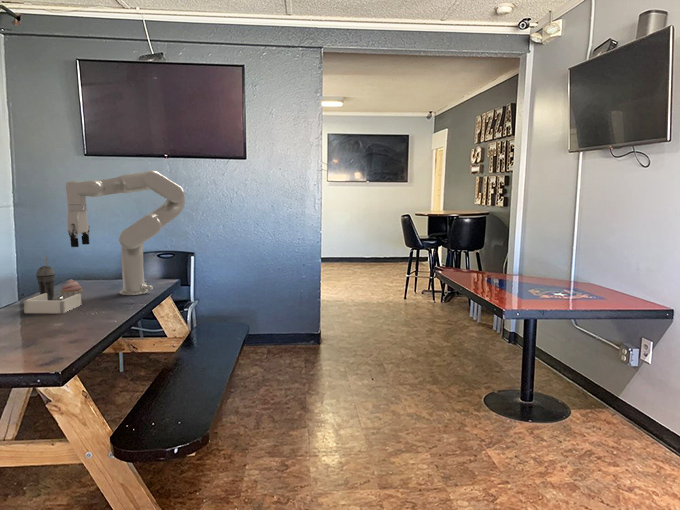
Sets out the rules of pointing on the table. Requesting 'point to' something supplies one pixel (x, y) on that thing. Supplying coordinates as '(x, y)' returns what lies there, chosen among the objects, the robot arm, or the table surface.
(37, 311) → the box
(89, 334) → the table surface
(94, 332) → the table surface
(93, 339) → the table surface
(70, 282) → the cupcake
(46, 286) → the beverage cup
